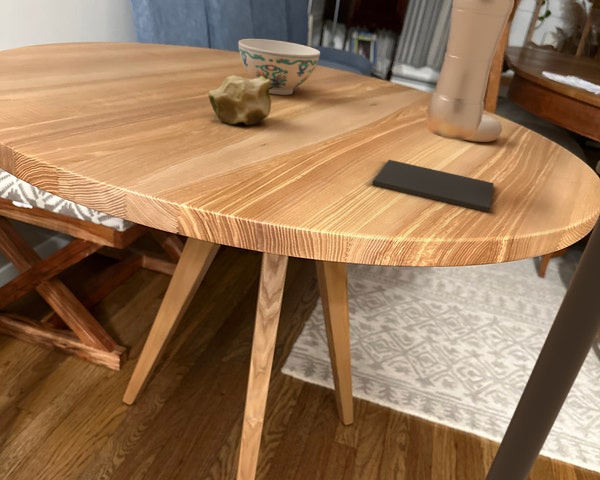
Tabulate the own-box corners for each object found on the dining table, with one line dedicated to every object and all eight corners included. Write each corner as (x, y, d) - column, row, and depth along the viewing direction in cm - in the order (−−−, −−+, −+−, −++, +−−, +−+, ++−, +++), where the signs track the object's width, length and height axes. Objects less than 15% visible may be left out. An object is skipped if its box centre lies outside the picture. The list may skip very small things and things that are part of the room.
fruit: (272, 126, 90) (286, 77, 85) (252, 145, 83) (266, 92, 78) (220, 104, 91) (230, 54, 86) (195, 121, 83) (205, 67, 78)
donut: (431, 134, 94) (490, 148, 90) (436, 113, 93) (496, 126, 89) (450, 125, 102) (505, 138, 98) (455, 105, 100) (511, 117, 96)
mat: (492, 187, 74) (493, 183, 73) (489, 212, 65) (490, 207, 65) (387, 163, 77) (388, 159, 76) (371, 185, 68) (372, 180, 68)
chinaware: (328, 94, 110) (334, 52, 106) (287, 104, 99) (293, 57, 95) (264, 78, 116) (268, 37, 112) (219, 85, 105) (221, 40, 101)
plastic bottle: (423, 140, 65) (472, -65, 55) (419, 126, 71) (463, -62, 60) (479, 149, 65) (538, -55, 54) (470, 134, 71) (523, -54, 60)
